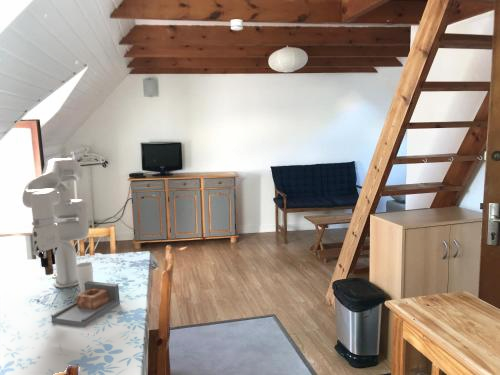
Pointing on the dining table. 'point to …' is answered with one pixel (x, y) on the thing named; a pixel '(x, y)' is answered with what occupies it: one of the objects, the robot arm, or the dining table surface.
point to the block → (92, 298)
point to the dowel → (49, 263)
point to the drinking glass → (84, 274)
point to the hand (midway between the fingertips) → (48, 265)
